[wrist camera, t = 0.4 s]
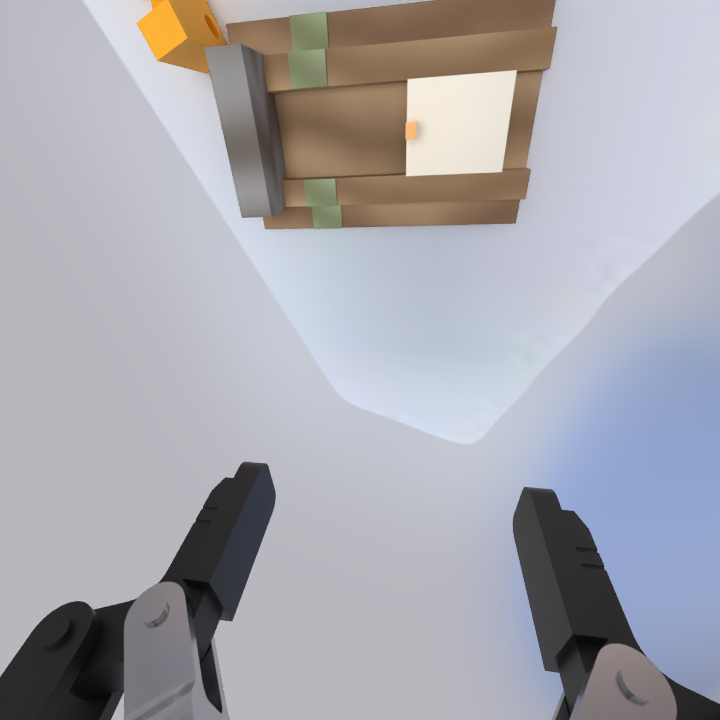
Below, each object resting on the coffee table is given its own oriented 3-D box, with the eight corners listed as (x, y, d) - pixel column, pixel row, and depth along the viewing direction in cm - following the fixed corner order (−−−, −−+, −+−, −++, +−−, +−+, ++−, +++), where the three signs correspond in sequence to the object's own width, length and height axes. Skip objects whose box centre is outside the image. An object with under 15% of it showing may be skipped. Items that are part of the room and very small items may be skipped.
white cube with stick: (409, 88, 25) (406, 73, 18) (496, 81, 24) (527, 63, 18) (408, 167, 28) (404, 180, 21) (486, 164, 27) (510, 176, 20)
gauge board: (233, 28, 26) (188, 3, 21) (551, -8, 23) (590, -47, 18) (269, 226, 34) (243, 243, 28) (512, 220, 30) (531, 239, 25)
